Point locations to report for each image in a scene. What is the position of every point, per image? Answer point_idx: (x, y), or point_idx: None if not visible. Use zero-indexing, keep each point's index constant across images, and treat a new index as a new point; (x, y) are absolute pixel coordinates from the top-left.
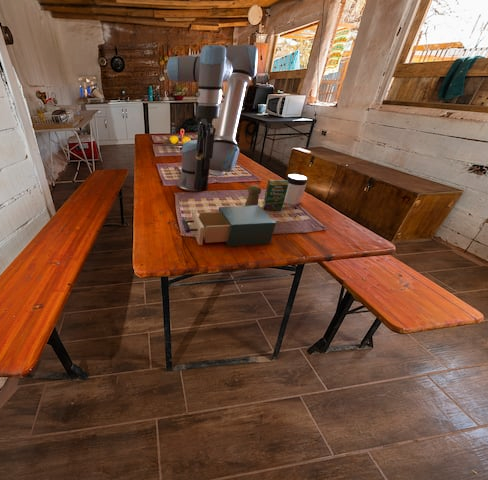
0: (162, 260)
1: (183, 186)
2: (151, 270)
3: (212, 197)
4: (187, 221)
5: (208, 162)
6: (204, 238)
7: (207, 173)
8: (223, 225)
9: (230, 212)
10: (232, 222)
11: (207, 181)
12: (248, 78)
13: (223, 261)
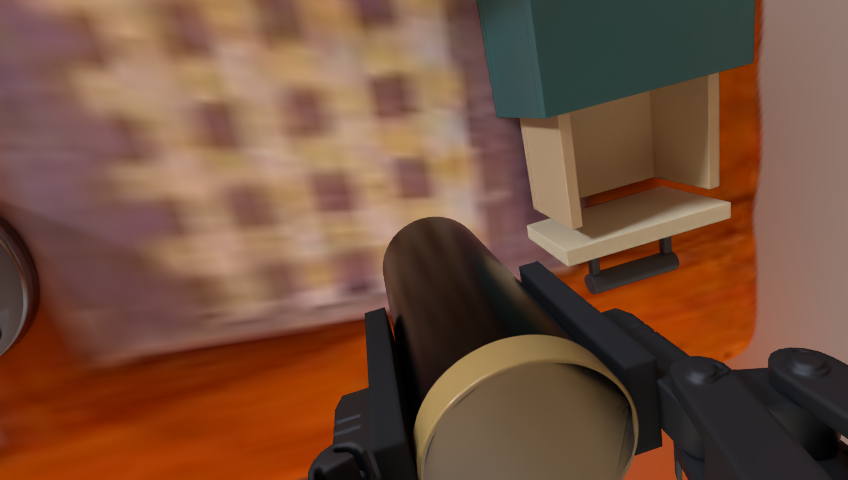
0: (715, 305)
1: (9, 336)
2: (754, 325)
3: (80, 119)
4: (599, 271)
5: (674, 346)
6: (643, 179)
7: (555, 280)
8: (712, 104)
9: (618, 48)
10: (730, 53)
11: (473, 240)
12: None
13: (742, 103)
